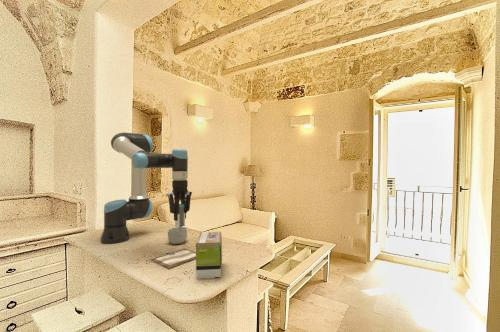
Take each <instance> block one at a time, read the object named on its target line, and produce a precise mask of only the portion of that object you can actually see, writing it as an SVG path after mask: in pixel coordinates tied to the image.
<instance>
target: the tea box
mask: <svg viewBox="0 0 500 332" xmlns="http://www.w3.org/2000/svg"><path fill="white" fill-rule="evenodd" d="M222 237H223V236H222V231H209V232H208V231H205V232H204V231H203V232H200V233H199V235H198V238H197V240H196V241H195V252H196V259H195V278H196V279H197V280H198V279H199V280H202V279H201V278H206V279H216V278H215V277H220V278H221V277H222V267H223V266H222V265H223V253H222V252H223V250H222V249H223V248H222V247H223V242H222V241H223V240H222Z"/></svg>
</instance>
